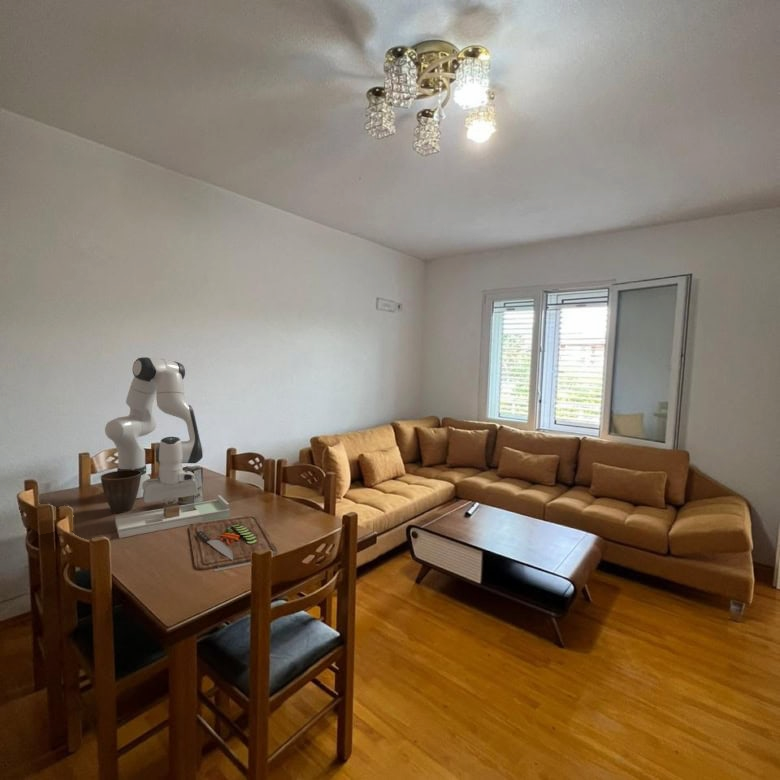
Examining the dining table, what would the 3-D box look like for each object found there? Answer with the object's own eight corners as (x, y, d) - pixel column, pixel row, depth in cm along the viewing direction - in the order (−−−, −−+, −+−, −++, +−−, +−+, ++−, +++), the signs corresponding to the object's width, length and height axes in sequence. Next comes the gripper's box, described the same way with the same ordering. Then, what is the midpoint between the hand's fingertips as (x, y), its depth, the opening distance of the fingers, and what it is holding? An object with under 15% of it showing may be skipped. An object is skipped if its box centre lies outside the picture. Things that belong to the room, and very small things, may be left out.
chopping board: (281, 560, 144) (281, 551, 144) (196, 576, 131) (196, 567, 131) (255, 515, 183) (255, 509, 183) (188, 525, 170) (188, 518, 170)
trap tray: (115, 524, 168) (115, 510, 167) (219, 506, 192) (219, 494, 192) (119, 538, 155) (119, 523, 155) (229, 516, 180) (229, 504, 179)
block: (163, 514, 173) (163, 505, 173) (176, 512, 176) (176, 503, 176) (165, 518, 169) (165, 508, 169) (179, 516, 172) (179, 506, 172)
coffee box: (203, 500, 198) (203, 467, 197) (194, 505, 192) (194, 470, 191) (186, 498, 200) (187, 465, 199) (177, 503, 194) (177, 469, 193)
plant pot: (102, 519, 172) (102, 480, 171) (99, 508, 184) (98, 472, 183) (144, 511, 182) (144, 475, 181) (138, 502, 193) (138, 468, 192)
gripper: (143, 481, 166) (143, 515, 167) (198, 474, 178) (198, 506, 179) (141, 478, 171) (141, 511, 172) (194, 471, 183) (194, 502, 184)
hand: (171, 508), depth 176 cm, fingers closed
